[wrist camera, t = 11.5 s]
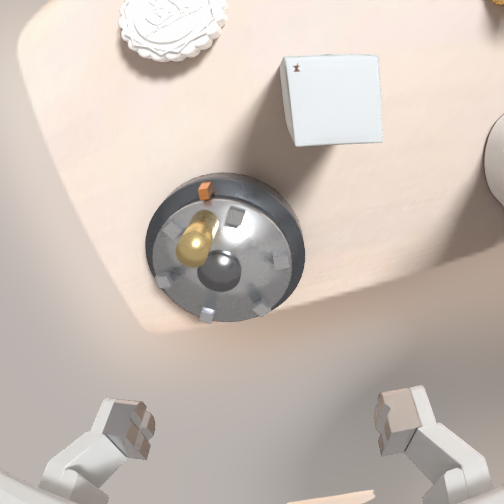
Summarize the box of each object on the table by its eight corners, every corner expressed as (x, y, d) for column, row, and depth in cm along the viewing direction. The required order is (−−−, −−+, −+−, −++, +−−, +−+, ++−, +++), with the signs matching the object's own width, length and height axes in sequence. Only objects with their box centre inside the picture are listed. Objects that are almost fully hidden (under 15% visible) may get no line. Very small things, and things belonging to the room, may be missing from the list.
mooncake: (204, -43, 25) (198, -54, 21) (245, 35, 30) (242, 30, 27) (115, 4, 27) (101, -1, 24) (150, 80, 33) (139, 80, 30)
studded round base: (138, 212, 37) (107, 248, 30) (275, 181, 35) (276, 212, 27) (183, 318, 45) (168, 364, 37) (300, 302, 42) (305, 350, 35)
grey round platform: (296, 163, 37) (299, 176, 32) (307, 301, 46) (310, 327, 41) (136, 185, 39) (118, 201, 34) (174, 310, 49) (165, 334, 44)
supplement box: (285, 127, 35) (291, 149, 24) (278, 64, 31) (281, 53, 20) (349, 124, 34) (384, 145, 23) (344, 61, 30) (379, 52, 19)
